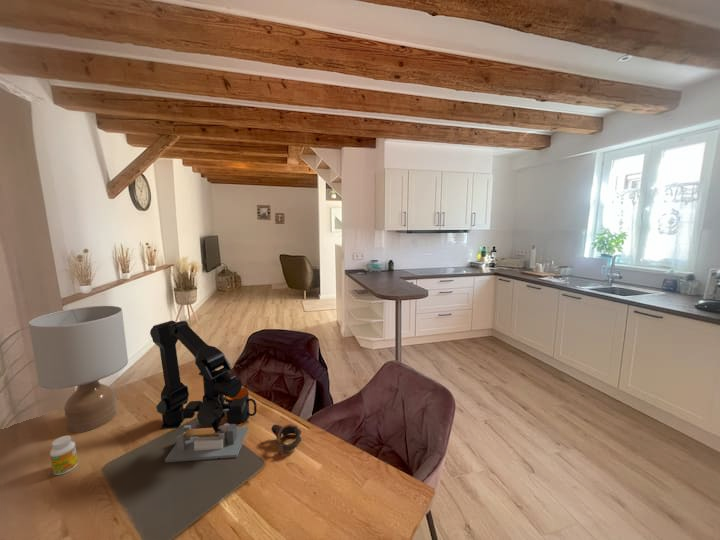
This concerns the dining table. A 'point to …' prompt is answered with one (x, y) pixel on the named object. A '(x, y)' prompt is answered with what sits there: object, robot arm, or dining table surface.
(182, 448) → the board
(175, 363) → the robot arm
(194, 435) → the strap
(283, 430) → the vr controller
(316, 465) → the dining table surface
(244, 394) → the mug
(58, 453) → the supplement bottle
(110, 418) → the lamp
